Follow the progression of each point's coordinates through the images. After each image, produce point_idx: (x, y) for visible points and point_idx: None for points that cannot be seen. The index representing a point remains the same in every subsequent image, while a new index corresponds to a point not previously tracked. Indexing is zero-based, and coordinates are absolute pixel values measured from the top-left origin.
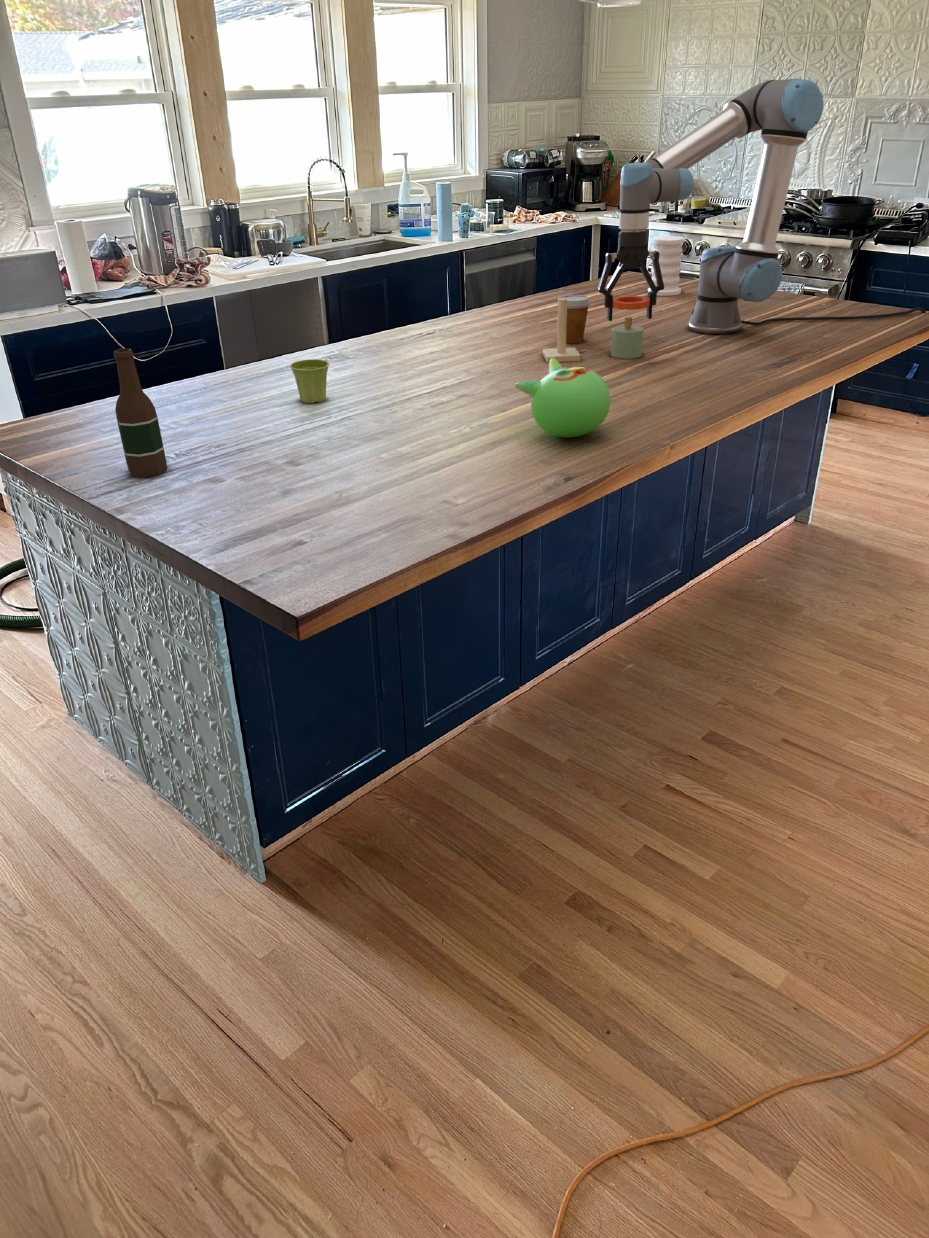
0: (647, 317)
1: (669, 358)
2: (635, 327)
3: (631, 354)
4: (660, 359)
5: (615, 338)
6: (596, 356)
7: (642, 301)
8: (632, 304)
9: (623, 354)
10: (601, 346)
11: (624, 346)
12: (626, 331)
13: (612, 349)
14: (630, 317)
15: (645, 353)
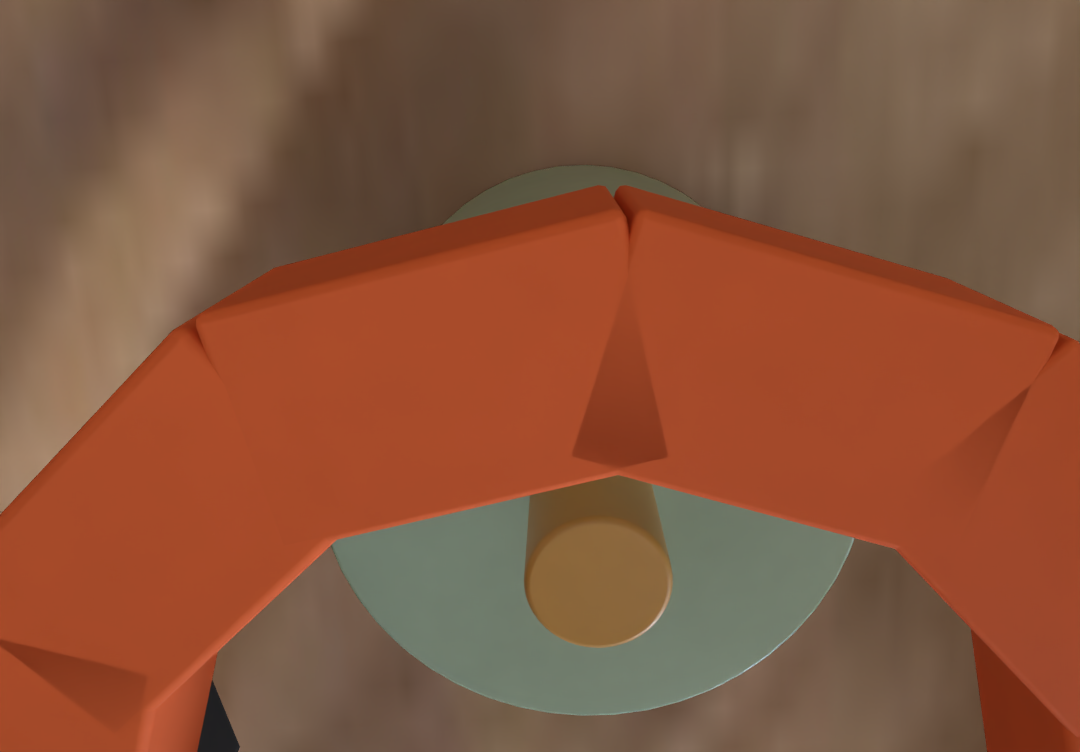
0: (212, 688)
1: (51, 231)
2: (464, 580)
3: (511, 182)
4: (151, 173)
5: None
6: (951, 265)
7: (100, 620)
8: (485, 245)
9: (618, 172)
10: (867, 710)
11: (617, 181)
12: None
13: None
14: (557, 579)
15: None
